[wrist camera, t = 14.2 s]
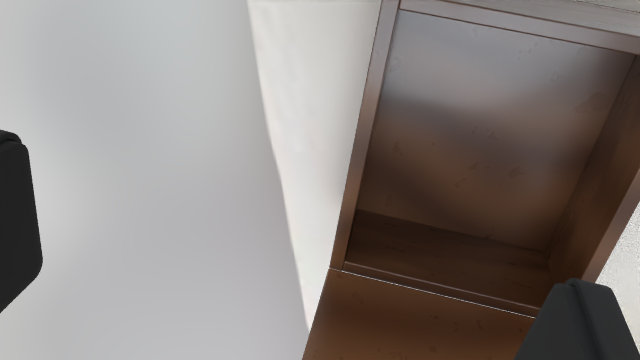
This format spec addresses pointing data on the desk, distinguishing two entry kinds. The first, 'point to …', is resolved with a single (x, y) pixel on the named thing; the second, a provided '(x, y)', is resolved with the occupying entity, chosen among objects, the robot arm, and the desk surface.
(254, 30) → the desk surface
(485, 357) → the lid
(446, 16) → the tea box
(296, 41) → the desk surface
